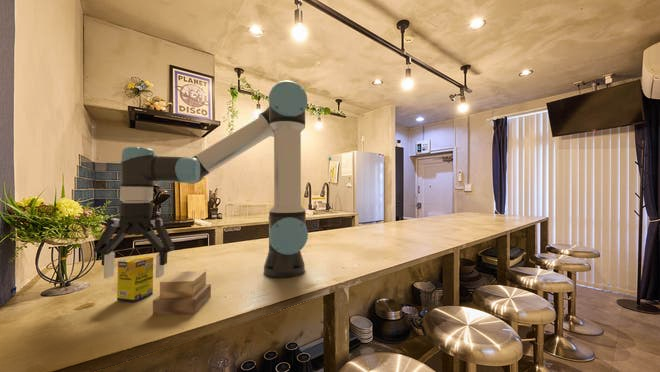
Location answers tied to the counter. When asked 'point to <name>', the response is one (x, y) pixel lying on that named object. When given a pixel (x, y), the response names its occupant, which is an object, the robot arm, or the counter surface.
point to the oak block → (182, 284)
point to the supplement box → (135, 278)
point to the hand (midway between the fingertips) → (134, 276)
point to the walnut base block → (181, 303)
